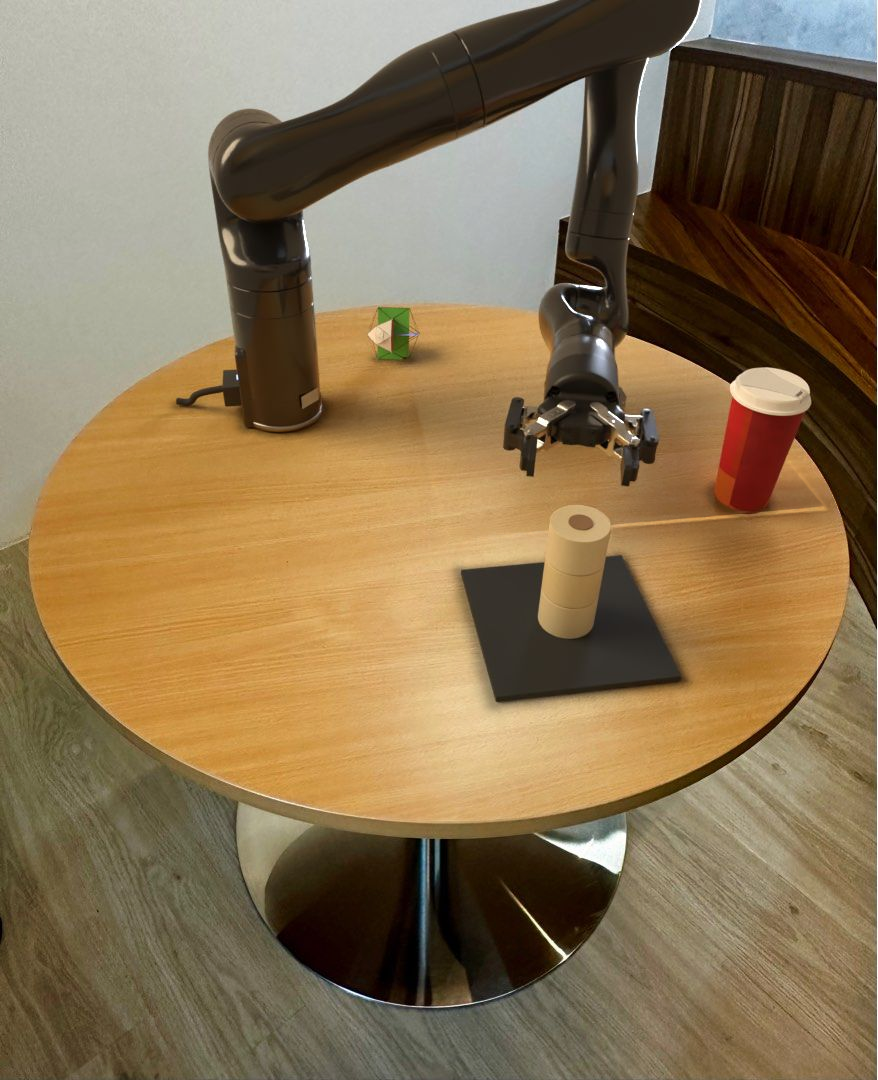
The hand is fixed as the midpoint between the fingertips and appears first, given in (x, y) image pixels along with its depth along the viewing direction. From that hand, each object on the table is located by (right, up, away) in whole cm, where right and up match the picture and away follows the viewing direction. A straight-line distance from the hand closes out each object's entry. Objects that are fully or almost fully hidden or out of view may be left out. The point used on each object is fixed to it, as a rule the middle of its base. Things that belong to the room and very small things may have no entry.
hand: (578, 473), depth 79 cm
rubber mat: (-1, -14, +1) cm, 14 cm away
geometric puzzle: (-19, +19, +40) cm, 48 cm away
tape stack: (-1, -13, +1) cm, 13 cm away
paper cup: (+20, -2, +16) cm, 26 cm away
